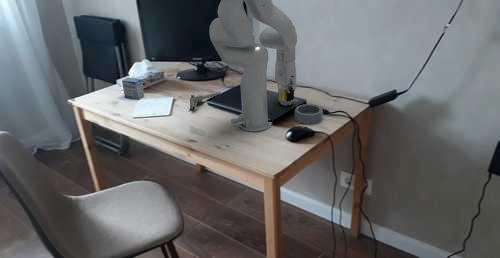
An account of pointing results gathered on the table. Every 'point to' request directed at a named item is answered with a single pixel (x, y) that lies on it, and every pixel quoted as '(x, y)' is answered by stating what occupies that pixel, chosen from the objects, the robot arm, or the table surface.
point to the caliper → (200, 98)
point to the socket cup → (308, 114)
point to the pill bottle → (283, 92)
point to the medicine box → (133, 88)
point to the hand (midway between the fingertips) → (286, 97)
